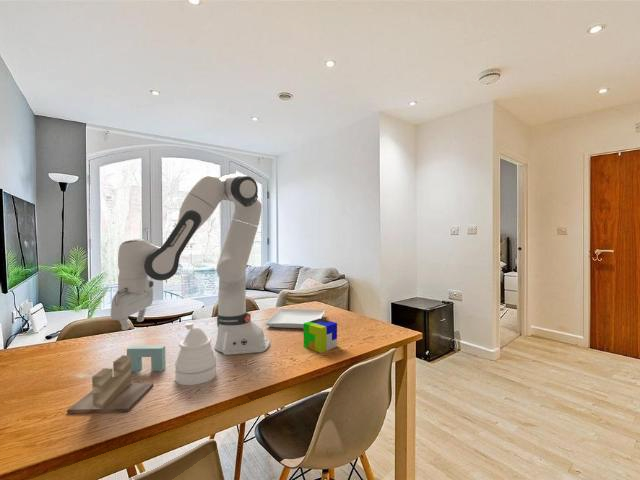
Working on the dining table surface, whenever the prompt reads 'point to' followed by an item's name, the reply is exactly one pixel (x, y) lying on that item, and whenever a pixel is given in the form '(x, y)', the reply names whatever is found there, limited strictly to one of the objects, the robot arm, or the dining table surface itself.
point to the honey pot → (195, 358)
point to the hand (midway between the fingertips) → (133, 325)
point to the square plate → (293, 317)
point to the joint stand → (112, 390)
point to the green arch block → (147, 351)
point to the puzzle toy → (320, 335)
